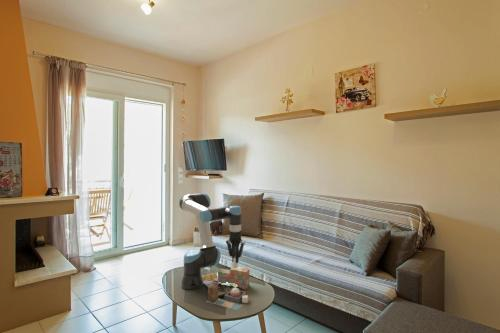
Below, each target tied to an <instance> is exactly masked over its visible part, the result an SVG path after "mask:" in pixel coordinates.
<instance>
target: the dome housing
mask: <svg viewBox="0 0 500 333" xmlns="http://www.w3.org/2000/svg"><path fill="white" fill-rule="evenodd" d="M231 290H232V289H230V290H229V291H228V292H227V293H225V294H224V300H226V301H230V302H234V303H238V304H240V303H241V302H242V297H243V295H247V291H244V290H240V291H241V295H240V296H239V297H234V296H230V291H231Z"/></svg>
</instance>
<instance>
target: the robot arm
mask: <svg viewBox="0 0 500 333" xmlns="http://www.w3.org/2000/svg"><path fill="white" fill-rule="evenodd" d="M178 203H179V204H178V205H179V208H180V209H181V210H182V211H185V212H188V213H191V214H193V215H195V216H196V217H195V218H196V221H197V229H198V234H199V239H200V240H199V241H200V246H201V247H200V248H199V249H192V250H191V249H190V250H189V251H187V252H185V253H184V255H183V276H182V280H181V282H180V283H181V288H182V289H184V290H187V291H192V290H197V289H200V288H202V287H203V286H204V280H203V276H202V273H201V272H202V271H201V270H202V269H205V268H209V267H214V266H216V265H218V264H219V263H220V261H221V250H220V249H219V248H218V247H216V244H215V243H214V241H213V236H212V231H211V226H210V222H216V221H220V220H228V223H229V225H228V227H229V232H228V233H229V235H228V236H229V238H228V239H227V240H226V241H225V243H226V245H227V250H228V256H229V257H231V258H232V260H231V261H232V263H233V264H232V265H233V266H232V267H233V268H235V269H236V268H237V267H239V266H238V264H239V258H241V257H242V255H243V250H244V246H245V245H246V242H245V241H243V239H242V206H240V205H230V206H223V205H222V206H221V207H217V208H210V207H211V198H210V196H209V195H208V194H207V193H205V192H199V193H188V194H184V195H182V196H181V198H179V202H178Z"/></svg>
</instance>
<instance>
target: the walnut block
mask: <svg viewBox="0 0 500 333" xmlns="http://www.w3.org/2000/svg"><path fill="white" fill-rule="evenodd" d="M218 298H219V285H217V284H214V283H211V284H210V285H208V286H207V301H209V302H213V303H214V302H216V301H217V300H218Z"/></svg>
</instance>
